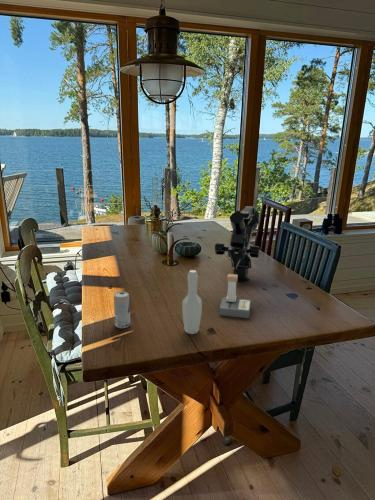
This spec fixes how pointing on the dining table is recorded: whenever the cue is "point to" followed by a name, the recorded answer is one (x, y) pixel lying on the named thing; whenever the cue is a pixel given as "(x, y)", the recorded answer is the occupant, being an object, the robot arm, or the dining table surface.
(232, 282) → the slider knob
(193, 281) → the faceted bottle
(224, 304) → the switch unit
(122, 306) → the energy drink
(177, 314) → the dining table surface
